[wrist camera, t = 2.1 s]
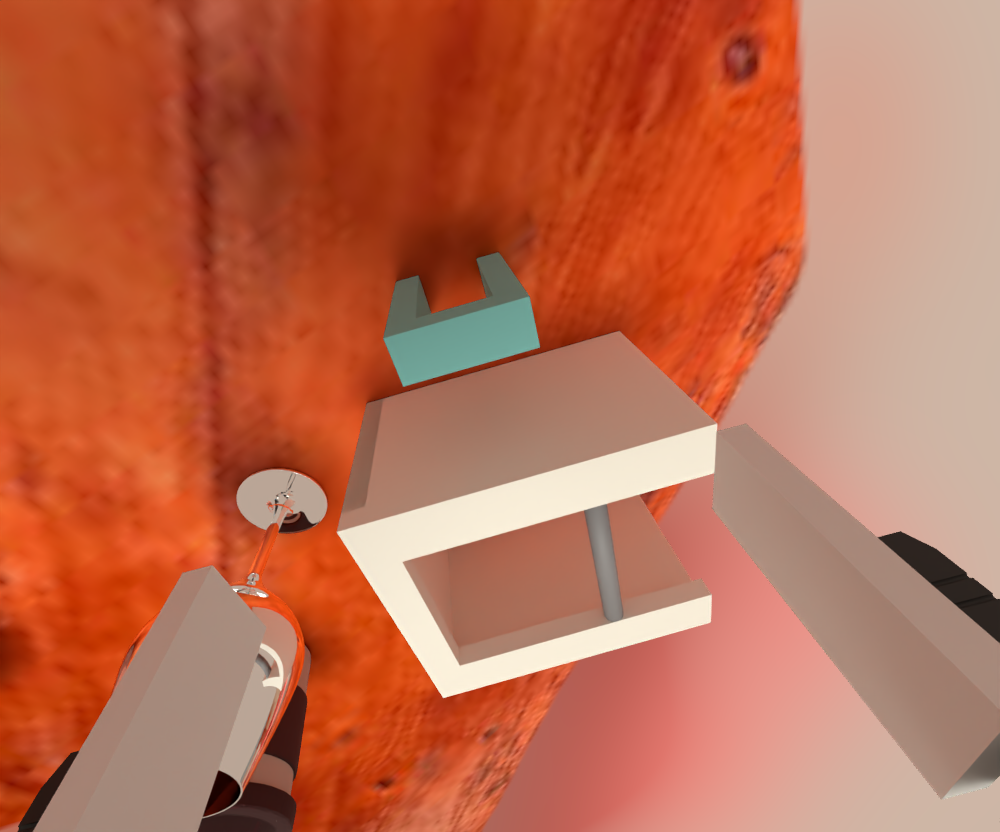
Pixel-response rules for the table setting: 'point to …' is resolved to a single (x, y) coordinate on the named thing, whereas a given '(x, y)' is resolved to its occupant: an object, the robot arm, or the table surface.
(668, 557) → the white c-frame
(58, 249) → the table surface
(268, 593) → the wineglass
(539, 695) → the table surface
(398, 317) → the teal u-shaped bracket
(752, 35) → the table surface
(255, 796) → the coffee cup
